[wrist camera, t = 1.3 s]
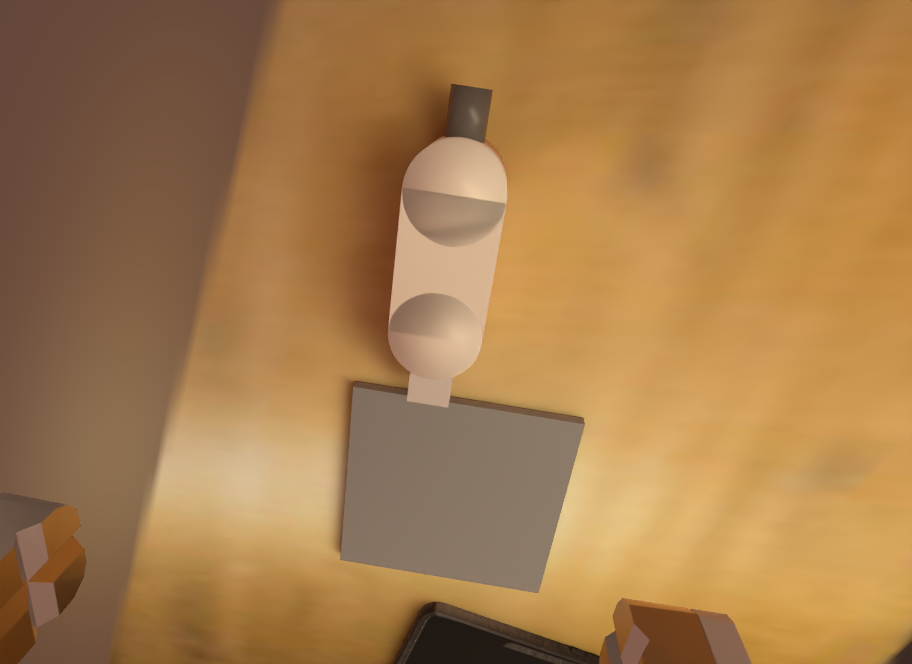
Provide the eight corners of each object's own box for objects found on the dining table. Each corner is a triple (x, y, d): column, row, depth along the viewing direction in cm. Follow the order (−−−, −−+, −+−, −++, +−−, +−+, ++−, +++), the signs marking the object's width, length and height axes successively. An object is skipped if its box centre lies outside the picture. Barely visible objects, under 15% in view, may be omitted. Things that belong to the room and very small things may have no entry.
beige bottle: (427, 80, 23) (413, 78, 20) (522, 94, 23) (525, 95, 20) (395, 373, 29) (379, 414, 25) (471, 385, 29) (466, 428, 25)
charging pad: (356, 381, 29) (353, 386, 29) (583, 418, 29) (584, 424, 29) (342, 552, 34) (340, 559, 34) (537, 584, 34) (538, 593, 33)
